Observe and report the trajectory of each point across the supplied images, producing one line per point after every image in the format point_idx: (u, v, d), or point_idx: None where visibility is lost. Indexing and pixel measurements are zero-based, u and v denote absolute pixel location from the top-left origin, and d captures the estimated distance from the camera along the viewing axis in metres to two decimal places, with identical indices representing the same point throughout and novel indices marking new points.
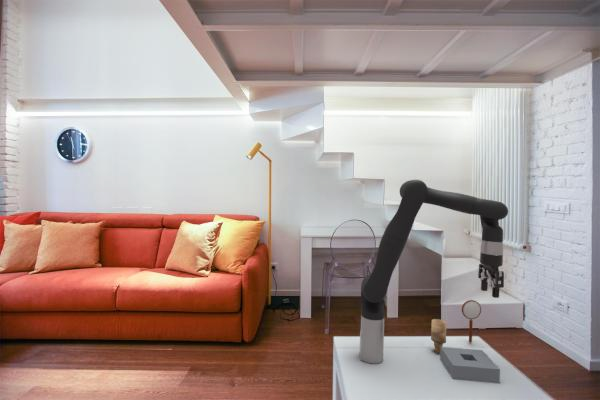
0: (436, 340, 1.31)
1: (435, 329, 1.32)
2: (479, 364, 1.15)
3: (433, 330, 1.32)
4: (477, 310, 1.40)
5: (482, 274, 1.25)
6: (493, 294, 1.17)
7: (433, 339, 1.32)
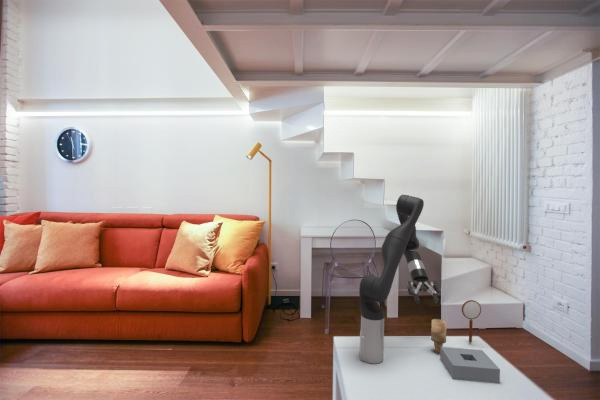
0: (436, 340, 1.31)
1: (435, 329, 1.32)
2: (479, 364, 1.15)
3: (433, 330, 1.32)
4: (477, 310, 1.40)
5: (418, 287, 1.47)
6: (437, 299, 1.44)
7: (433, 339, 1.32)
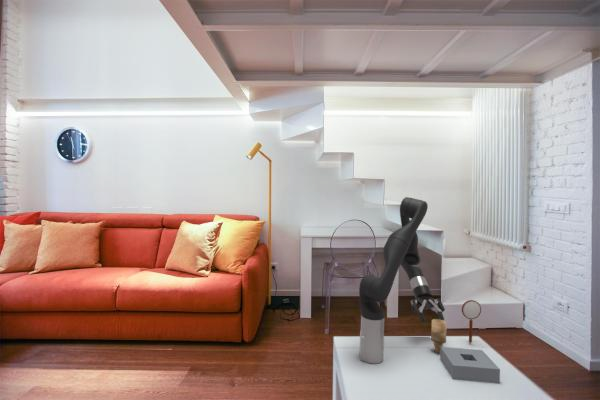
0: (436, 340, 1.31)
1: (435, 329, 1.32)
2: (479, 364, 1.15)
3: (433, 330, 1.32)
4: (477, 310, 1.40)
5: (423, 305, 1.41)
6: (442, 318, 1.38)
7: (433, 339, 1.32)
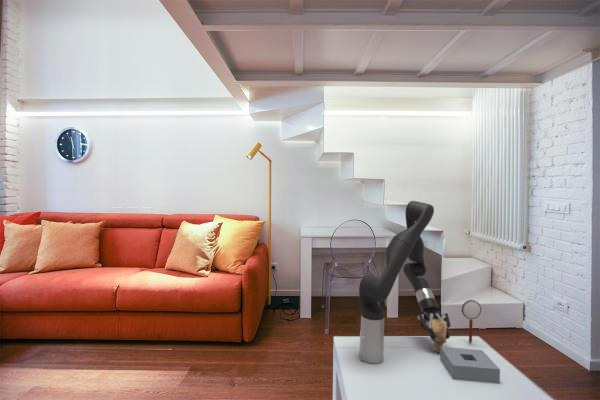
0: (436, 340, 1.31)
1: (435, 329, 1.31)
2: (479, 364, 1.15)
3: (433, 330, 1.32)
4: (477, 310, 1.40)
5: (431, 320, 1.35)
6: (448, 334, 1.32)
7: (433, 339, 1.32)
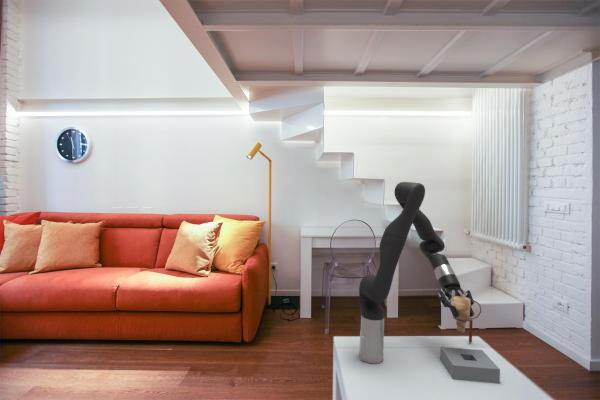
0: (459, 318, 1.21)
1: (458, 306, 1.21)
2: (479, 364, 1.15)
3: (456, 307, 1.22)
4: (477, 310, 1.40)
5: (453, 297, 1.25)
6: (472, 312, 1.22)
7: None
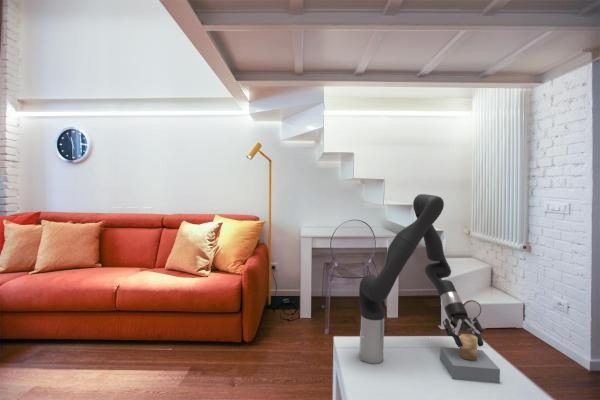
0: (466, 357, 1.18)
1: (465, 345, 1.18)
2: (479, 364, 1.15)
3: (462, 346, 1.19)
4: (477, 310, 1.40)
5: (459, 326, 1.21)
6: (481, 341, 1.19)
7: (462, 356, 1.19)
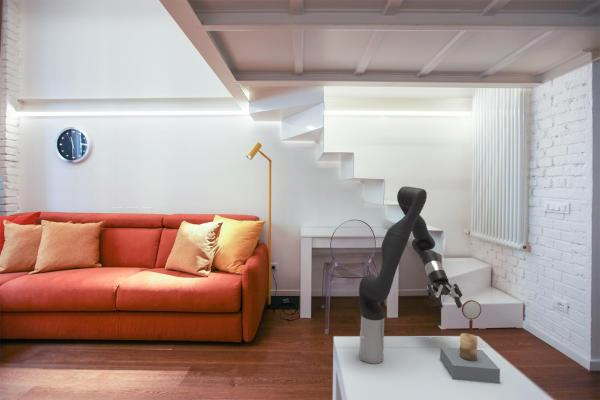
0: (466, 357, 1.18)
1: (465, 345, 1.18)
2: (479, 364, 1.15)
3: (462, 346, 1.19)
4: (477, 310, 1.40)
5: (440, 290, 1.34)
6: (460, 303, 1.32)
7: (462, 356, 1.19)
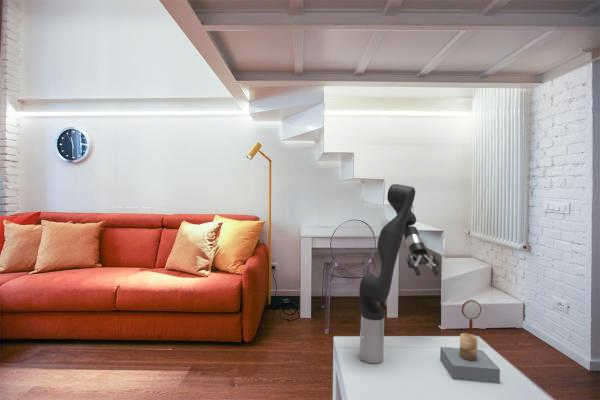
0: (466, 357, 1.18)
1: (465, 345, 1.18)
2: (479, 364, 1.15)
3: (462, 346, 1.19)
4: (477, 310, 1.40)
5: (418, 260, 1.45)
6: (437, 271, 1.43)
7: (462, 356, 1.19)
